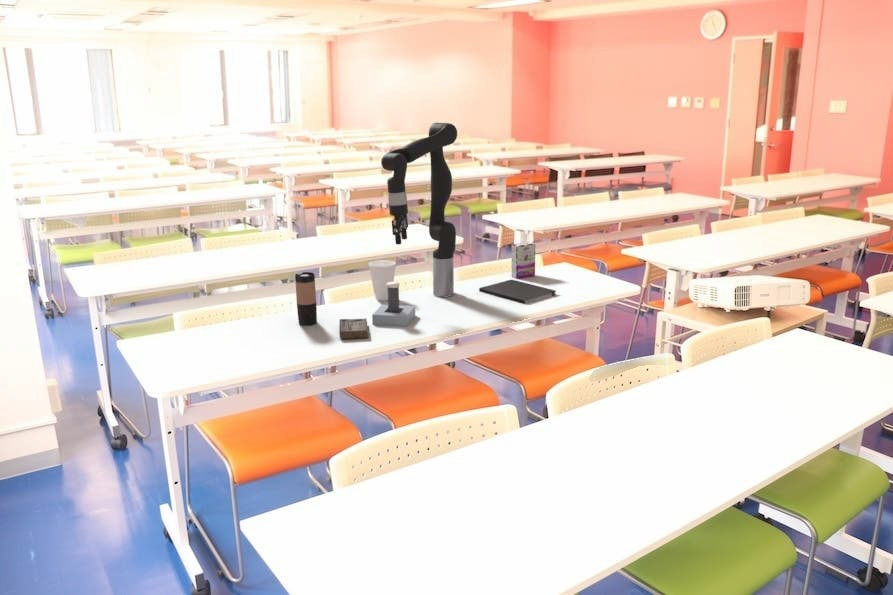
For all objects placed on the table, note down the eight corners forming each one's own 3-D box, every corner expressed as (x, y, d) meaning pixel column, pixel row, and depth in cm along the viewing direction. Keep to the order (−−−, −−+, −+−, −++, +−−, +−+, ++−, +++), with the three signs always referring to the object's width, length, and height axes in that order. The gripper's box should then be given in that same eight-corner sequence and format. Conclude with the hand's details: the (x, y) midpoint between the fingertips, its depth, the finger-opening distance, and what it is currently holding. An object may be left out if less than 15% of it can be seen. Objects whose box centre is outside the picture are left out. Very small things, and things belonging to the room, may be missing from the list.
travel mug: (315, 325, 290) (312, 276, 284) (296, 325, 290) (292, 276, 285) (319, 319, 297) (316, 271, 292) (300, 319, 298) (297, 272, 292)
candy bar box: (529, 273, 366) (530, 241, 362) (535, 276, 362) (536, 243, 358) (510, 276, 361) (511, 243, 357) (516, 278, 357) (517, 245, 352)
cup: (368, 302, 321) (367, 266, 316) (371, 294, 332) (369, 260, 328) (396, 301, 321) (395, 266, 316) (397, 294, 332) (396, 260, 328)
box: (339, 339, 274) (339, 331, 273) (339, 326, 290) (339, 318, 289) (368, 338, 275) (368, 330, 274) (366, 325, 292) (366, 317, 291)
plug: (389, 317, 300) (388, 281, 295) (401, 318, 299) (400, 282, 294) (386, 321, 295) (385, 284, 291) (398, 322, 294) (397, 285, 290)
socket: (382, 313, 305) (382, 304, 304) (415, 315, 302) (415, 306, 301) (372, 324, 292) (372, 314, 290) (406, 326, 289) (406, 316, 288)
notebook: (479, 292, 336) (524, 305, 316) (479, 287, 336) (525, 300, 316) (511, 283, 350) (557, 295, 330) (511, 279, 350) (557, 290, 330)
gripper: (401, 206, 291) (405, 245, 296) (411, 199, 304) (414, 237, 309) (383, 206, 293) (387, 246, 298) (394, 199, 306) (397, 237, 311)
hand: (401, 241), depth 304 cm, fingers open, 8 cm apart
